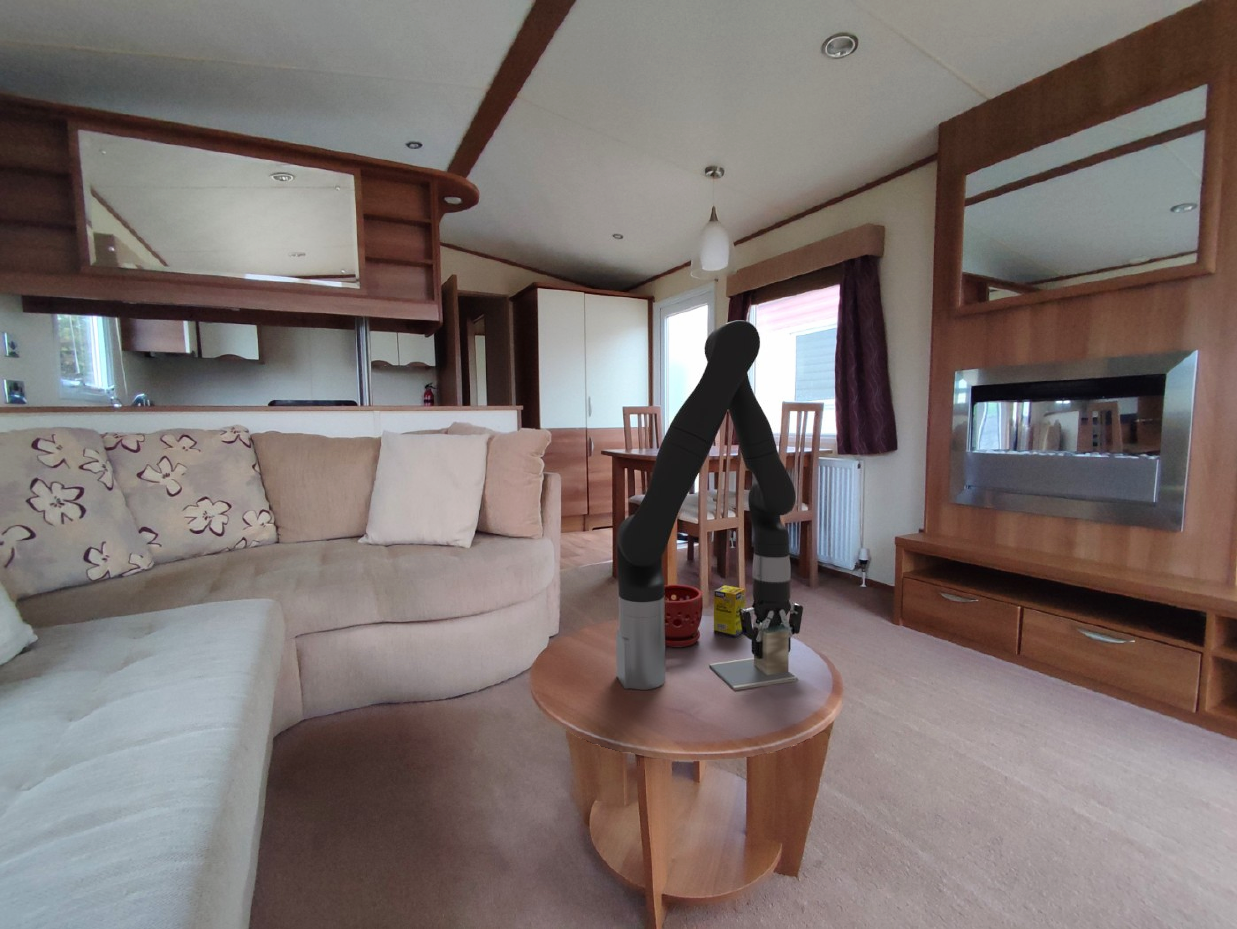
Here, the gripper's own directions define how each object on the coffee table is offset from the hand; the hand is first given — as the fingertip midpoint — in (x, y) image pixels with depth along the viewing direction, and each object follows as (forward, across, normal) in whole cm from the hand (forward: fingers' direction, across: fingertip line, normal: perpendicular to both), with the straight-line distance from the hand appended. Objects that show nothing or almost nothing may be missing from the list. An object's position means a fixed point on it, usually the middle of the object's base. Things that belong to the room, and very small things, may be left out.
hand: (771, 655), depth 107 cm
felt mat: (+3, -4, 0) cm, 6 cm away
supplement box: (+3, +2, +22) cm, 22 cm away
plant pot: (+3, -13, +21) cm, 25 cm away
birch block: (+3, 0, 0) cm, 3 cm away
